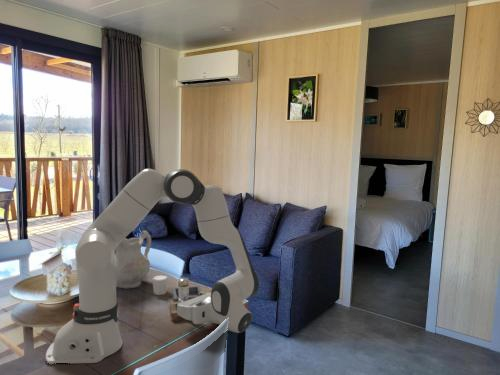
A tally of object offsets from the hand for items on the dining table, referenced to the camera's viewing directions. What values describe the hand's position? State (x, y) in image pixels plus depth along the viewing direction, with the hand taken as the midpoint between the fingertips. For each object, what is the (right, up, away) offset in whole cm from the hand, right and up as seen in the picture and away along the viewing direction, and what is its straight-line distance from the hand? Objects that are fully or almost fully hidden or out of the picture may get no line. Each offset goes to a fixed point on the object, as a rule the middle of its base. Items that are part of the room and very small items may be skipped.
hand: (189, 297), depth 143 cm
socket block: (-3, -7, +3) cm, 9 cm away
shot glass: (-17, -5, +24) cm, 30 cm away
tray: (-4, -6, +17) cm, 18 cm away
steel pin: (-3, -7, +3) cm, 9 cm away
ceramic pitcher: (-34, -4, +34) cm, 48 cm away
